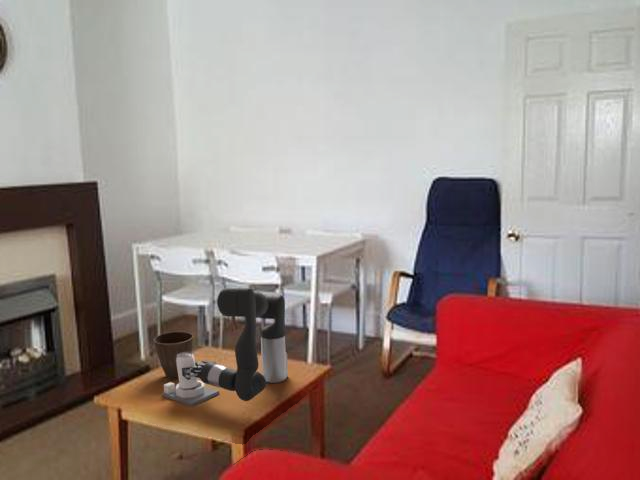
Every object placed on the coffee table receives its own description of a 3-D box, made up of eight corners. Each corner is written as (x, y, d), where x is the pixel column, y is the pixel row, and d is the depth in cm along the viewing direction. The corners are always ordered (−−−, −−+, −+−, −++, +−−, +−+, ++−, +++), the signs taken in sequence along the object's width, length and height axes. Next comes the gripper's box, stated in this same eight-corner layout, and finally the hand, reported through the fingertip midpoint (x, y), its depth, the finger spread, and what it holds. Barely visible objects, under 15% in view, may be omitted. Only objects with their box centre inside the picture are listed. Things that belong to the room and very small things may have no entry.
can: (197, 388, 220) (192, 355, 219) (178, 390, 220) (174, 358, 218) (198, 381, 227) (194, 350, 225) (181, 384, 226) (176, 352, 225)
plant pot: (186, 384, 234) (183, 344, 232) (149, 382, 237) (147, 342, 235) (201, 370, 249) (199, 332, 246) (166, 368, 252) (164, 331, 249)
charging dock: (189, 384, 235) (189, 374, 234) (219, 394, 225) (218, 383, 224) (162, 396, 224) (161, 385, 224) (191, 406, 215) (191, 395, 214)
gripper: (231, 359, 219) (198, 349, 230) (200, 371, 208) (167, 360, 219) (231, 379, 220) (199, 369, 231) (201, 392, 209) (169, 380, 220)
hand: (184, 365), depth 225 cm, fingers closed on can, 4 cm apart
